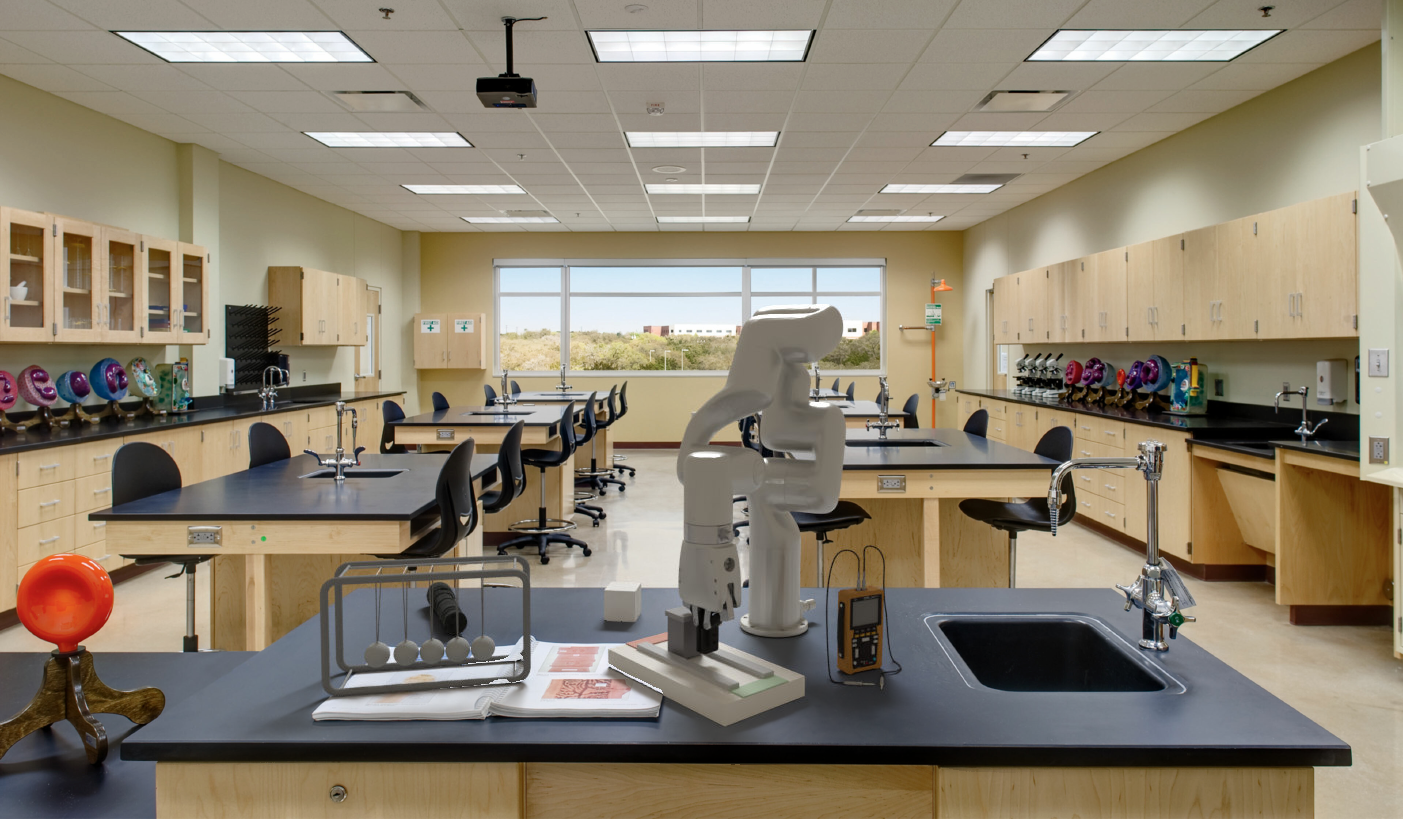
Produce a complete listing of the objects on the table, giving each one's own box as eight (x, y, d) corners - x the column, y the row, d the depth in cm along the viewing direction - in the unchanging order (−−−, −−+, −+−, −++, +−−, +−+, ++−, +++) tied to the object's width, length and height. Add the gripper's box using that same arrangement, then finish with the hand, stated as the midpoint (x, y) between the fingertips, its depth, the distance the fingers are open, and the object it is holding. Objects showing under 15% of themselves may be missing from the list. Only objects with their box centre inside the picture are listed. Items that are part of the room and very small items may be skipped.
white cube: (604, 621, 157) (604, 590, 157) (611, 611, 163) (611, 581, 163) (635, 622, 157) (635, 591, 156) (641, 612, 163) (641, 582, 162)
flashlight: (451, 603, 168) (451, 579, 168) (470, 635, 149) (469, 608, 149) (425, 607, 166) (425, 582, 166) (441, 639, 147) (440, 611, 147)
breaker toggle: (687, 646, 135) (687, 604, 134) (705, 653, 131) (706, 611, 131) (664, 652, 132) (665, 610, 131) (683, 660, 128) (683, 617, 128)
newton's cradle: (321, 698, 121) (318, 579, 120) (337, 672, 131) (334, 561, 130) (530, 683, 127) (530, 569, 126) (530, 659, 137) (529, 553, 136)
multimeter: (856, 697, 123) (859, 564, 121) (817, 674, 132) (819, 549, 130) (932, 679, 129) (935, 553, 128) (889, 659, 138) (892, 540, 137)
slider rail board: (684, 645, 144) (684, 623, 144) (804, 695, 123) (804, 670, 123) (608, 667, 134) (608, 644, 134) (724, 726, 113) (724, 699, 112)
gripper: (760, 538, 123) (759, 659, 124) (694, 522, 134) (694, 633, 135) (723, 545, 118) (722, 671, 119) (658, 528, 129) (658, 643, 130)
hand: (707, 650), depth 127 cm, fingers closed
